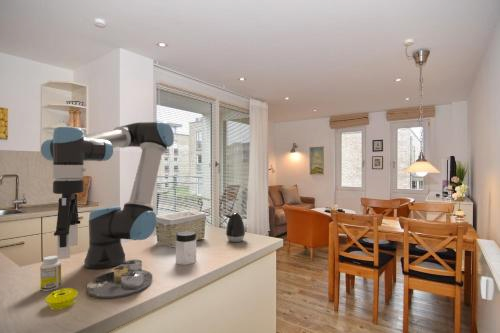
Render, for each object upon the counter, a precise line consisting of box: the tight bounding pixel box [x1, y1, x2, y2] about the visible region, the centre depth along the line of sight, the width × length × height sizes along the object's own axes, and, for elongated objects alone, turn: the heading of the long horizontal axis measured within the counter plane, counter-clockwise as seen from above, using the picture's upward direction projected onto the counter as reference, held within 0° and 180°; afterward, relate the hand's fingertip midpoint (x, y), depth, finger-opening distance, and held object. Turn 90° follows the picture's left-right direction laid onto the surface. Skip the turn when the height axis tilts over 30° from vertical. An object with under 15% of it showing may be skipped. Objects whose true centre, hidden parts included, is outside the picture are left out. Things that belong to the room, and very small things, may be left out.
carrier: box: [86, 259, 153, 300], centre depth 93 cm, size 20×20×6 cm
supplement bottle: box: [39, 255, 62, 292], centre depth 90 cm, size 6×6×10 cm
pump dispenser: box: [225, 212, 246, 243], centre depth 146 cm, size 10×10×15 cm
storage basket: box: [155, 209, 207, 248], centre depth 147 cm, size 24×16×15 cm
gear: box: [44, 287, 79, 310], centre depth 80 cm, size 8×4×8 cm
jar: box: [175, 231, 197, 266], centre depth 115 cm, size 9×8×12 cm
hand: (68, 251), depth 80 cm, fingers open, 13 cm apart
